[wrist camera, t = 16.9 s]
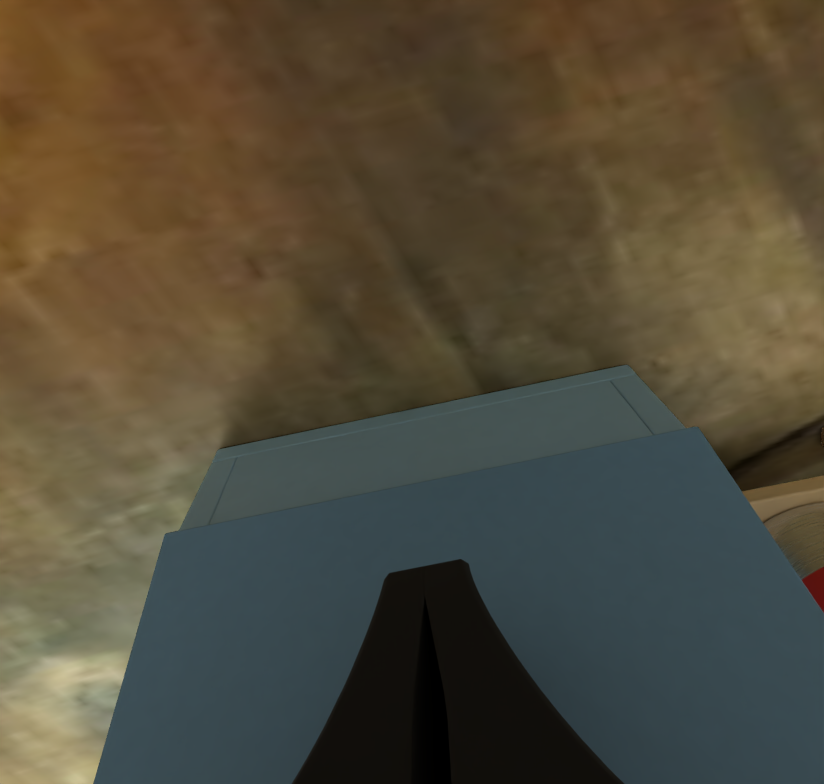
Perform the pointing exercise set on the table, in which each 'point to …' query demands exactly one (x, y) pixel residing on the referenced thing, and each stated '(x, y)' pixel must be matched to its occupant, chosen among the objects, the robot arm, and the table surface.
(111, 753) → the lid
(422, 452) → the cooler
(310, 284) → the table surface
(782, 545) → the can
